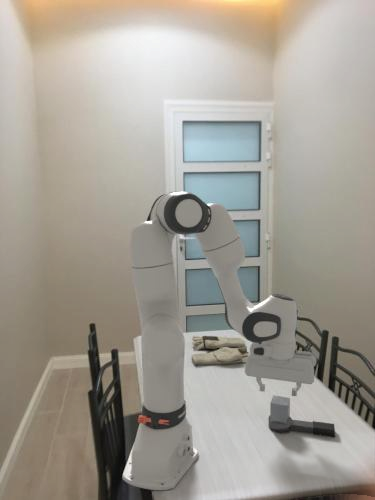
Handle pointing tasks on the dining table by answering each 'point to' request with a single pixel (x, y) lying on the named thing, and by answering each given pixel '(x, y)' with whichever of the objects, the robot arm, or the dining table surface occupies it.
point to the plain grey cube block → (280, 410)
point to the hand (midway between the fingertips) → (278, 392)
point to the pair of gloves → (221, 355)
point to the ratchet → (304, 427)
